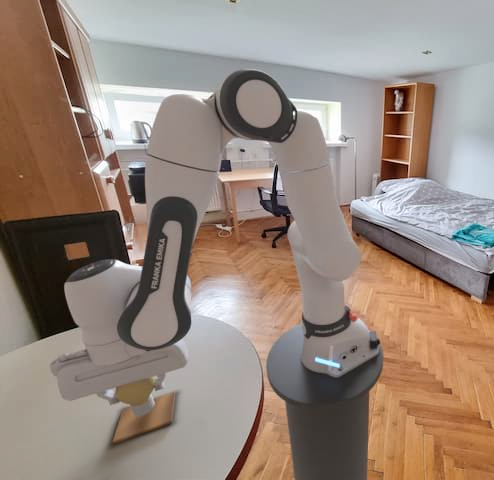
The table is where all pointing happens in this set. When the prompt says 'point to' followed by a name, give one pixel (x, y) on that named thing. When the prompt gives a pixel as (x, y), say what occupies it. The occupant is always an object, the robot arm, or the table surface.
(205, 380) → the table surface
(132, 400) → the light bulb
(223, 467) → the table surface
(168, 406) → the wooden board
